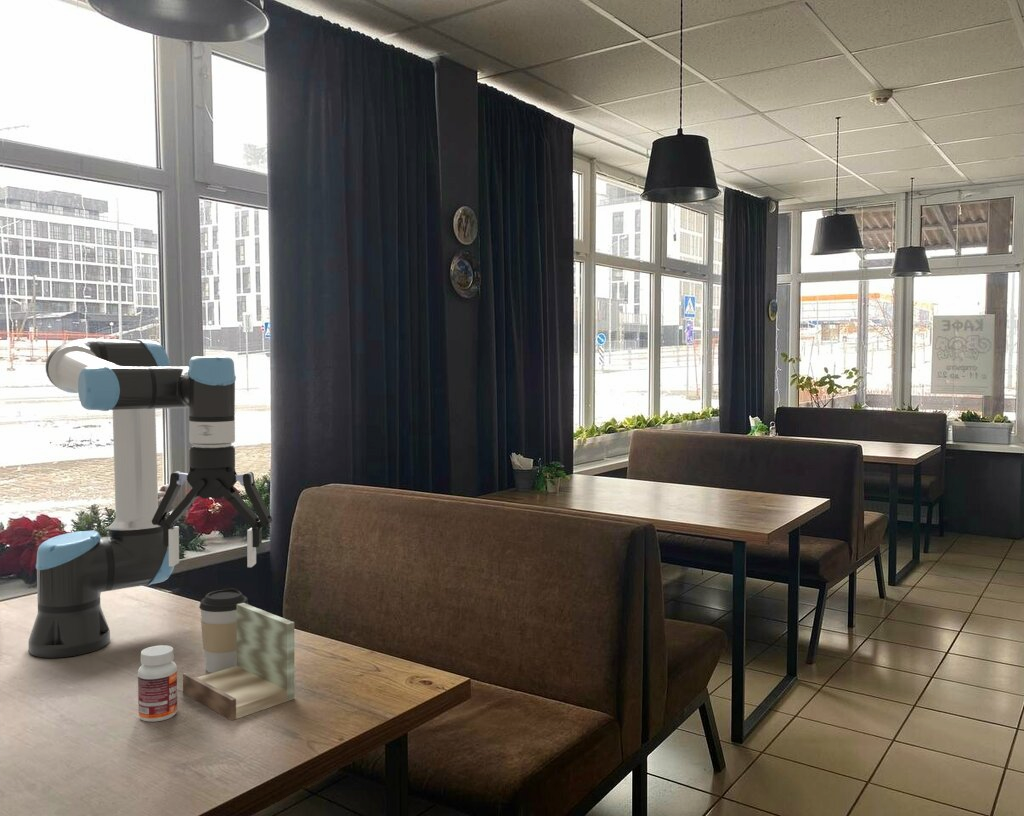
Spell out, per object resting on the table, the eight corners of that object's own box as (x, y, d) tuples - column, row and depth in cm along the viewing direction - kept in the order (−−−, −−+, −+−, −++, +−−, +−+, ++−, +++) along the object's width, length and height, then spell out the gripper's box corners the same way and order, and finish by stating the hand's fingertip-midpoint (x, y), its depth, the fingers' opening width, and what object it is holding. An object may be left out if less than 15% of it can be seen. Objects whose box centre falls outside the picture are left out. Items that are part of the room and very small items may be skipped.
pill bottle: (177, 719, 139) (177, 653, 138) (137, 725, 137) (137, 658, 136) (177, 705, 145) (176, 642, 144) (138, 710, 142) (137, 646, 142)
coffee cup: (232, 677, 158) (232, 600, 157) (190, 673, 159) (189, 597, 158) (256, 660, 166) (256, 587, 165) (216, 656, 168) (215, 584, 167)
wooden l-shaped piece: (182, 692, 150) (182, 617, 149) (243, 673, 159) (243, 602, 159) (231, 720, 139) (231, 639, 138) (294, 698, 148) (294, 622, 147)
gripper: (130, 446, 140) (132, 569, 141) (278, 448, 140) (278, 571, 141) (149, 441, 147) (150, 558, 148) (289, 443, 148) (289, 560, 149)
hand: (212, 565), depth 145 cm, fingers open, 13 cm apart
